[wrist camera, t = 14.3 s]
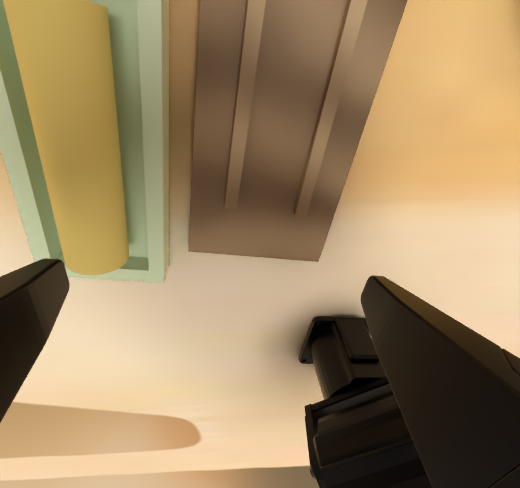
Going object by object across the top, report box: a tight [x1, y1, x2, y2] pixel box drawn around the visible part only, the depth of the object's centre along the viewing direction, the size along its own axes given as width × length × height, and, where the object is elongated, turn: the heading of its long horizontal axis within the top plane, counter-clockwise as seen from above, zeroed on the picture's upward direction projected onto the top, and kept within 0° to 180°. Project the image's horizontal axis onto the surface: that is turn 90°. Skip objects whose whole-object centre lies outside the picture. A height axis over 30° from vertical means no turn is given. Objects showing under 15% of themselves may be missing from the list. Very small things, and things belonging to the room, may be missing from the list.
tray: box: [0, 0, 169, 283], centre depth 16 cm, size 17×8×2 cm, turn 170°
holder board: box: [188, 0, 407, 262], centre depth 16 cm, size 22×10×1 cm, turn 170°
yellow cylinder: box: [3, 0, 129, 275], centre depth 15 cm, size 13×4×4 cm, turn 170°
